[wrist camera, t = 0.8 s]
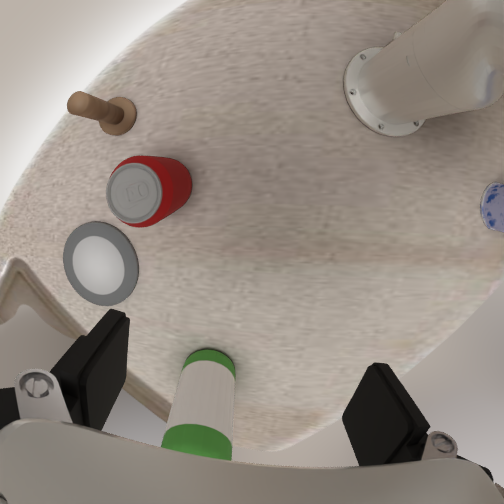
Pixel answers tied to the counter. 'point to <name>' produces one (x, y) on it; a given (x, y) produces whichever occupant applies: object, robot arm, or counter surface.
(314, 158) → the counter surface
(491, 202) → the aerosol can
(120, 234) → the pad
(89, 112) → the stand post
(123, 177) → the beverage can
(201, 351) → the wine bottle
